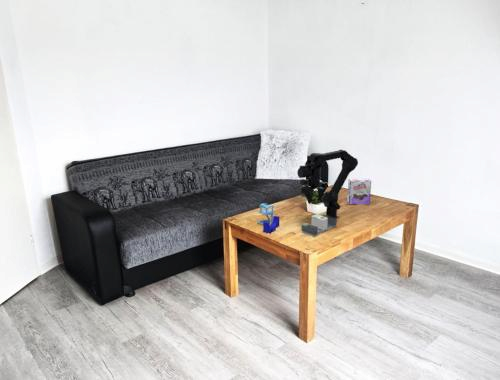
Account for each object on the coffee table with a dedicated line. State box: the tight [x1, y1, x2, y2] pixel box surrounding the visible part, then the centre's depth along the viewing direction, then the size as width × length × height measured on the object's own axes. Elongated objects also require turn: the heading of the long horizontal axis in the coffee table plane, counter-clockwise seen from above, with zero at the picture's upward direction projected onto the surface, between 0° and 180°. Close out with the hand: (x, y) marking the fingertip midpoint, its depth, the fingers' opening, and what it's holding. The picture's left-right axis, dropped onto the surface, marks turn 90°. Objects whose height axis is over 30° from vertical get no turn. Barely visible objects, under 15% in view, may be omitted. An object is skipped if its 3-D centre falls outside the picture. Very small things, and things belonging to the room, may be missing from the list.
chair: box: [256, 202, 275, 226], centre depth 235 cm, size 8×8×12 cm
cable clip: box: [262, 215, 280, 234], centre depth 226 cm, size 12×4×6 cm, turn 144°
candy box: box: [346, 178, 372, 205], centre depth 265 cm, size 14×6×16 cm, turn 88°
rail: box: [300, 214, 338, 237], centre depth 225 cm, size 20×9×5 cm, turn 134°
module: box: [310, 214, 328, 230], centre depth 225 cm, size 4×8×6 cm, turn 44°
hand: (314, 201), depth 235 cm, fingers open, 9 cm apart
